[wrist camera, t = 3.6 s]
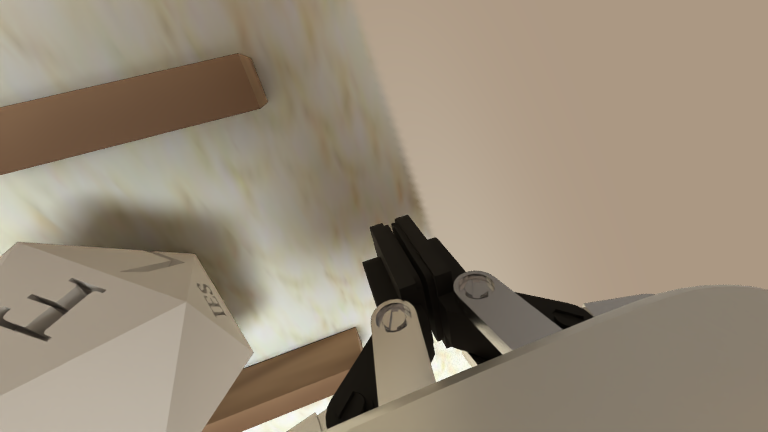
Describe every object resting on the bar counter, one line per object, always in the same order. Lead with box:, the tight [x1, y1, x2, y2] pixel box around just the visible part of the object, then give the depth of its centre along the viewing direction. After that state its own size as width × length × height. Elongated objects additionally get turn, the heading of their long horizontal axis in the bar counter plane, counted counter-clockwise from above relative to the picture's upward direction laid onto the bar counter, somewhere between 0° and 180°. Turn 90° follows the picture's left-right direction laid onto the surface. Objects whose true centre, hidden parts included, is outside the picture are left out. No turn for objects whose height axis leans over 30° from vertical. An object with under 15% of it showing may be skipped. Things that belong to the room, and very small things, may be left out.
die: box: [0, 242, 254, 432], centre depth 10 cm, size 8×9×10 cm
